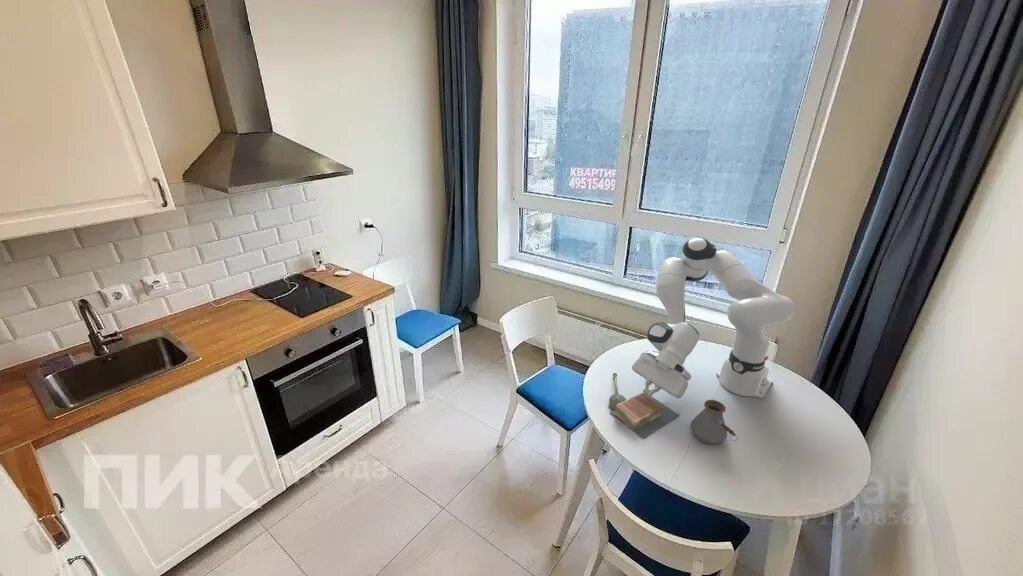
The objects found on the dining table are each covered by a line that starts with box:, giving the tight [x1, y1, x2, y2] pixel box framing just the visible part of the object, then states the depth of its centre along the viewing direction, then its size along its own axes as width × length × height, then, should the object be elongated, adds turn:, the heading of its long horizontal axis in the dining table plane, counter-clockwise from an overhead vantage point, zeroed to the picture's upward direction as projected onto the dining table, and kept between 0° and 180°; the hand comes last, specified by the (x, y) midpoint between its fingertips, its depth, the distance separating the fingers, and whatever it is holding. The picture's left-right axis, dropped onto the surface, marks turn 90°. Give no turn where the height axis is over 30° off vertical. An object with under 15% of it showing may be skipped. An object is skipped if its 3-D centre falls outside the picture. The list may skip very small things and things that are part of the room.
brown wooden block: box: [614, 391, 663, 431], centre depth 146 cm, size 4×9×14 cm
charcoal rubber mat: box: [609, 393, 680, 440], centre depth 148 cm, size 20×15×1 cm
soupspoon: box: [608, 372, 627, 410], centre depth 159 cm, size 22×3×7 cm
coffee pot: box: [689, 399, 739, 445], centre depth 132 cm, size 21×12×15 cm, turn 174°
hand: (646, 394), depth 147 cm, fingers closed
